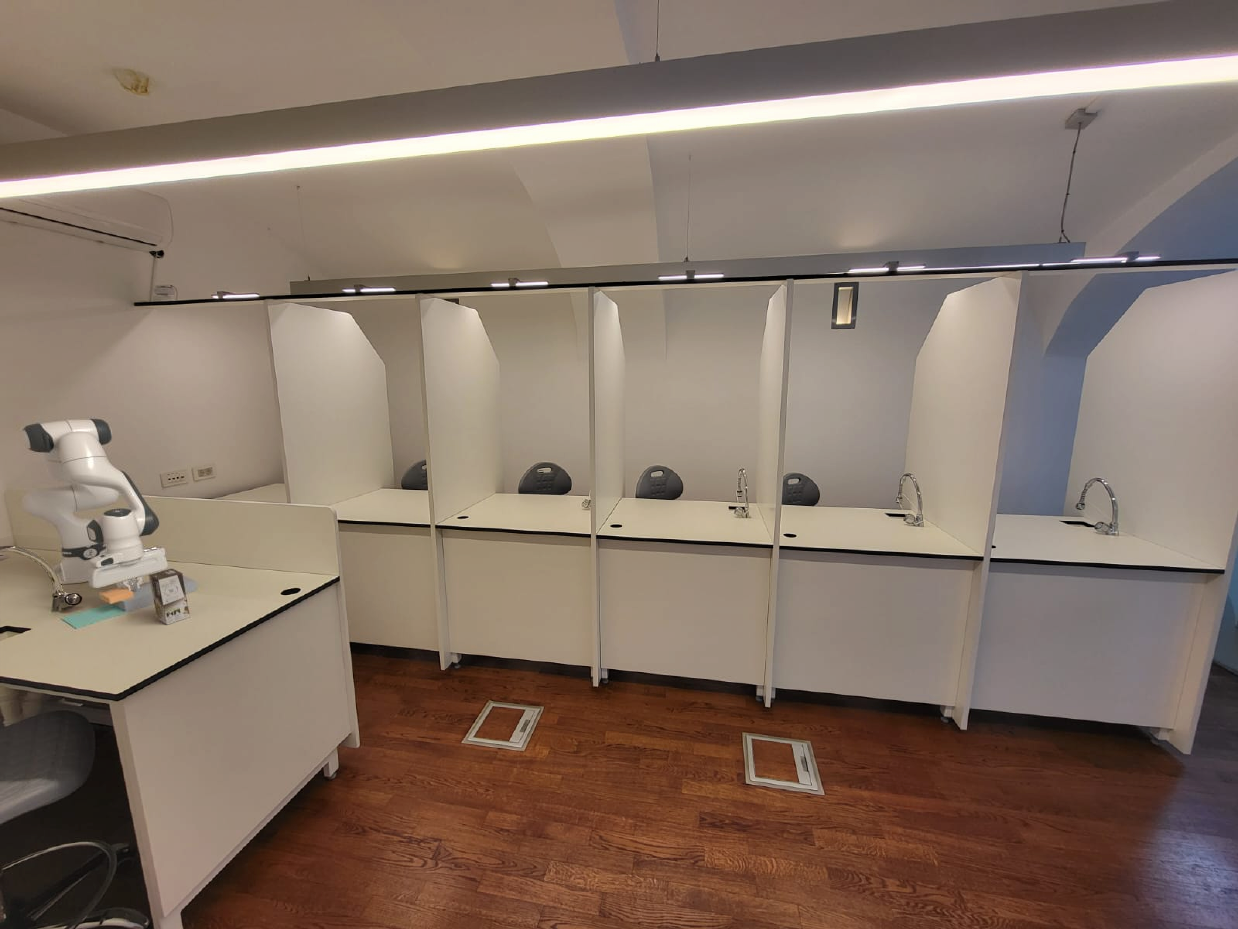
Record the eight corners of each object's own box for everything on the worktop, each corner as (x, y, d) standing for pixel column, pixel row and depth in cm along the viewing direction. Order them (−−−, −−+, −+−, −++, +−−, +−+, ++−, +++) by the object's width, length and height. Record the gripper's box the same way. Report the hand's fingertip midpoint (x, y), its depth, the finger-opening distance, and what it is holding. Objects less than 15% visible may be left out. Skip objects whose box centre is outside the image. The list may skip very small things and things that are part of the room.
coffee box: (191, 617, 162) (183, 573, 159) (166, 625, 157) (157, 580, 154) (180, 610, 167) (172, 567, 164) (156, 618, 161) (147, 574, 159)
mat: (61, 619, 161) (61, 618, 161) (110, 604, 172) (110, 603, 172) (76, 628, 155) (76, 627, 155) (126, 612, 165) (126, 611, 165)
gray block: (110, 604, 172) (108, 593, 171) (180, 583, 189) (178, 573, 189) (126, 612, 165) (124, 602, 165) (196, 590, 183) (195, 580, 182)
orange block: (100, 598, 167) (98, 593, 167) (123, 591, 173) (122, 586, 172) (110, 603, 163) (109, 598, 163) (133, 596, 169) (132, 591, 168)
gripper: (159, 543, 180) (166, 577, 182) (82, 561, 162) (90, 599, 164) (167, 545, 177) (174, 580, 180) (89, 565, 159) (97, 603, 162)
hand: (133, 589), depth 172 cm, fingers closed
